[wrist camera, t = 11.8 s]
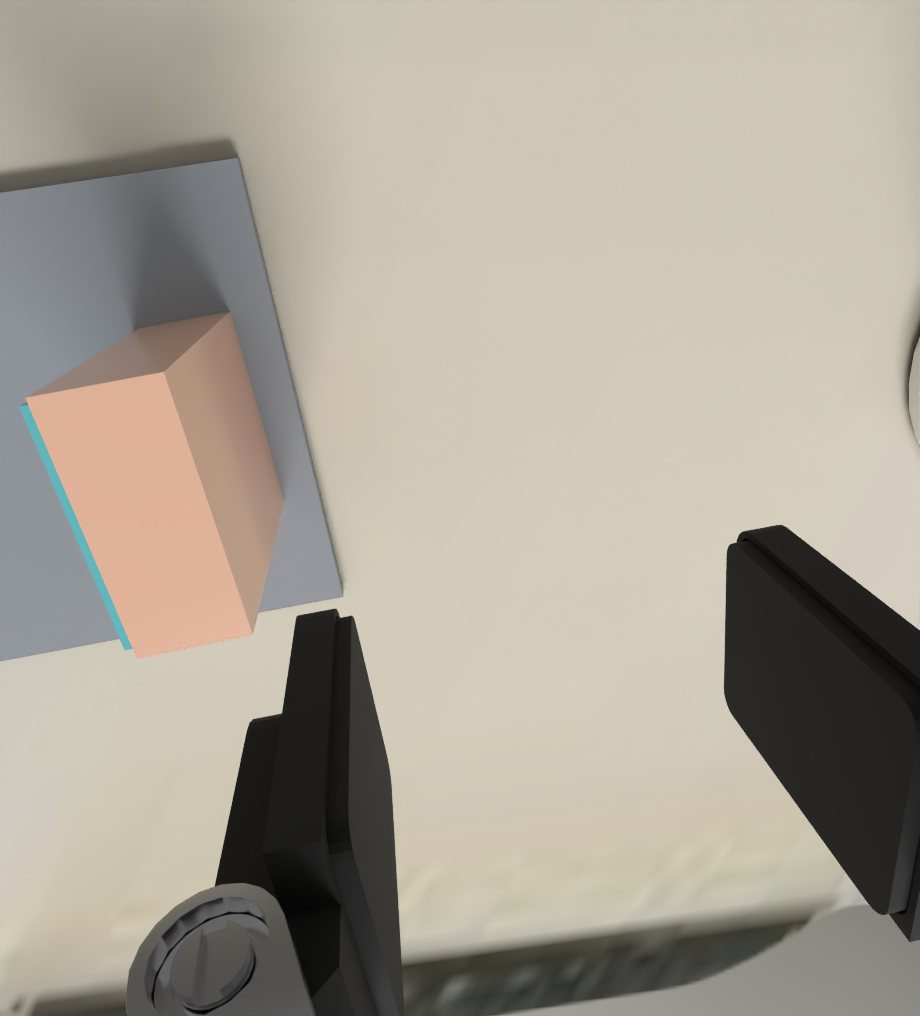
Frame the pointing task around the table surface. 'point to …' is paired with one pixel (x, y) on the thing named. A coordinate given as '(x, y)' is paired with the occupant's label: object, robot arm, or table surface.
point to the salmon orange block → (165, 481)
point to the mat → (104, 321)
